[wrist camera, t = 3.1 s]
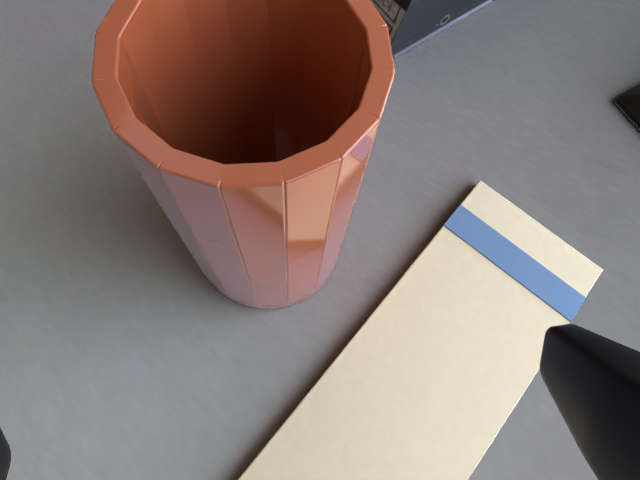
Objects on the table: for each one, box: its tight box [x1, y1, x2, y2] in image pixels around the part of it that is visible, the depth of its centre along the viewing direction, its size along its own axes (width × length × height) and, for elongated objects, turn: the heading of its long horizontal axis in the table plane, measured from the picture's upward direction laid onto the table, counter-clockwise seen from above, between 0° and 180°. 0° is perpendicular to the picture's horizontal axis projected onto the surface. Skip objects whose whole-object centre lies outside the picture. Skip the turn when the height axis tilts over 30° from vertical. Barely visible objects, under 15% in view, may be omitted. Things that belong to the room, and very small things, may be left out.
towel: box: [238, 181, 603, 480], centre depth 20 cm, size 24×7×1 cm, turn 140°
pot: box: [92, 0, 395, 309], centre depth 16 cm, size 7×7×12 cm
